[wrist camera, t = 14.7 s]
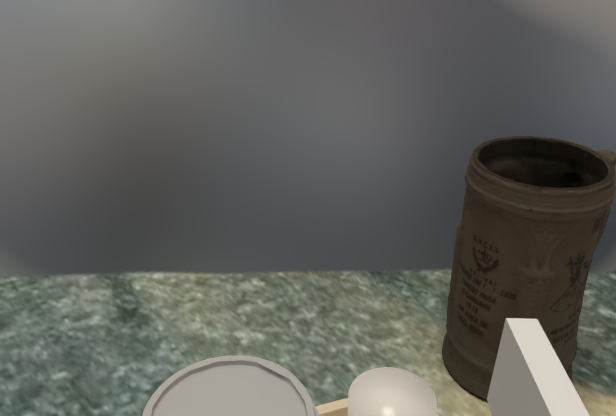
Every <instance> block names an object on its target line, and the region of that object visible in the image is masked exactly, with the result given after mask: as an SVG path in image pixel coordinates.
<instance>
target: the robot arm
mask: <svg viewBox="0 0 616 416" xmlns="http://www.w3.org/2000/svg"><path fill="white" fill-rule="evenodd" d="M0 386H1V385H0ZM487 401H488V404H489V407H490V410H491V413H492V416H589V414H588V412H587V410H586V408H585V406H584V404H583V403H582V401H581V399H580V397H579V395H578V393H577V392H576V390H575V388H574V386H573V384H572V382H571V380H570V379H569V377H568V375H567V373H566V371H565V369H564V368H563V366H562V364H561V362H560V360H559V358H558V356H557V355H556V353H555V351H554V349H553V347H552V345H551V344H550V342H549V340H548V338H547V336H546V334H545V332H544V331H543V329H542V327H541V325H540V323H539V321H538V320H537V319H525V318H506V319H505V324H504V328H503V332H502V336H501V341H500V345H499V349H498V354H497V358H496V362H495V366H494V371H493V375H492V379H491V383H490V388H489V392H488V396H487Z"/></svg>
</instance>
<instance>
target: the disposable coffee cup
mask: <svg viewBox="0 0 616 416" xmlns="http://www.w3.org/2000/svg"><path fill="white" fill-rule="evenodd" d="M142 416H319V412H318V410H317V409H316V407H315V405H314V403H313V402H312V400H311V398H310V396H309V394H308V392H307V390H306V388H305V387H304V386H303V385H302V383H301V382H300V381H299V380H298V379H297V378H296V377H295V376H294V375H293V374H292V373H291V372H289V371H288V370H286V369H284V368H283V367H281V366H280V365H278V364H275V363H273V362H270V361H268V360H265V359H261V358H257V357H251V356H221V357H216V358H211V359H206V360H203V361H200V362H197V363H194V364H192V365H190V366H188V367H186V368H184V369H182V370H180V371H178V372H177V373H175V374H174V375H173V376H171V377H170V378H169V379H167V380H166V381H165V382H164V383H163V384H162V385H161V386H160V387H159V388H158V389H157V390H156V391H155V393H154V394H153V395H152V397H151V398H150V399H149V401H148V403H147V405H146V407H145V409H144V411H143V415H142Z"/></svg>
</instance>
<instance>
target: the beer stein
mask: <svg viewBox="0 0 616 416" xmlns="http://www.w3.org/2000/svg"><path fill="white" fill-rule="evenodd" d="M615 164H616V153H615V152H614V151H608V150H602V151H594V150H592V149H589V148H587V147H585V146H583V145H579V144H575V143H572V142H569V141H564V140H560V139H554V138H544V137H534V136H514V137H507V138H499V139H494V140H491V141H487V142H484V143H483V144H481V145H479V146H478V147H477V148H476V149H475V150H474V151H473V153H472V155H471V158H470V163H469V165H468V167H467V170H466V175H465V182H466V193H465V197H464V205H463V215H462V220H461V222H460V224H459V226H458V229H457V235H456V241H455V247H454V258H453V266H452V274H451V283H450V292H449V296H448V307H447V325H446V327H447V333H446V336H445V338H444V342H443V349H442V354H443V359H444V362H445V365H446V367H447V368H448V370H449V372H450V374H451V375H452V376H453V378H454V379H455V380H456V381H457V382H458V383H459V384H460V385H461V386H462V387H464V388H465V389H467V390H468V391H470V392H471V393H473V394H475V395H476V396H479V397H481V398H483V399H486V400H487V396H488V392H489V388H490V383H491V379H492V375H493V371H494V366H495V362H496V358H497V354H498V349H499V345H500V341H501V336H502V332H503V328H504V324H505V319H506V318H525V319H537V320H538V321H539V323H540V325H541V327H542V329H543V331H544V332H545V334H546V336H547V338H548V340H549V342H550V344H551V345H552V347H553V349H554V351H555V353H556V355H557V356H558V358H559V360H560V362H561V364H562V366H563V368H564V369H565V371H566V373H567V375H568V377H569V379H570V380H571V376H572V361H573V360H574V358H575V354H576V349H577V341H576V337H577V330H578V320H579V315H580V312H581V308H582V301H583V295H584V290H585V286H586V281H587V277H588V272H589V269H590V266H591V262H592V256H593V253H594V251H595V249H596V247H597V245H598V243H599V241H600V239H601V237H602V234H603V232H604V229H605V226H606V223H607V220H608V217H609V214H610V208H611V204H612V202H613V199H614V196H615V190H616V188H615V179H616V171H615V169H614V168H615Z"/></svg>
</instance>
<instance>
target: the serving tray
mask: <svg viewBox="0 0 616 416" xmlns="http://www.w3.org/2000/svg"><path fill="white" fill-rule="evenodd" d="M315 407H316V409H317V410H318V412H319V416H347V412H348V398H346V399H342V400H338V401H335V402H331V403H327V404H323V405H319V406H315ZM436 416H439V415H438V413H437V412H436Z"/></svg>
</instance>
